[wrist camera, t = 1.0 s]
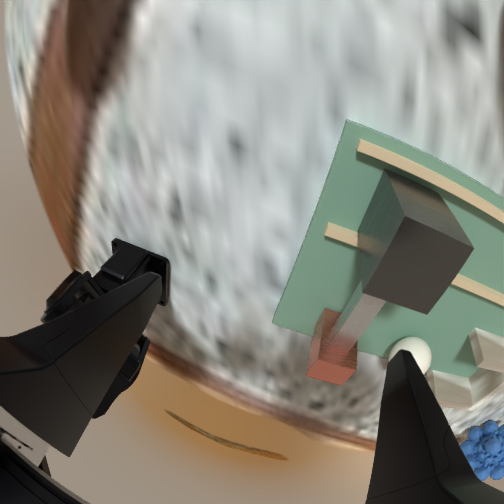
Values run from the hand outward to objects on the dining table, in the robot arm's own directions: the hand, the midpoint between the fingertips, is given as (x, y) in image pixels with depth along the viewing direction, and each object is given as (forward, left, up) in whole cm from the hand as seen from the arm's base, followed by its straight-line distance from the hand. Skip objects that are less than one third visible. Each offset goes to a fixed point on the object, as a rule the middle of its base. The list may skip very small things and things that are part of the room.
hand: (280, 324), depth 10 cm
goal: (-10, -22, -12) cm, 27 cm away
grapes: (-24, -43, -12) cm, 50 cm away
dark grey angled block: (-4, -6, -11) cm, 13 cm away
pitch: (-4, -14, -12) cm, 19 cm away
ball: (-10, -13, -9) cm, 19 cm away
